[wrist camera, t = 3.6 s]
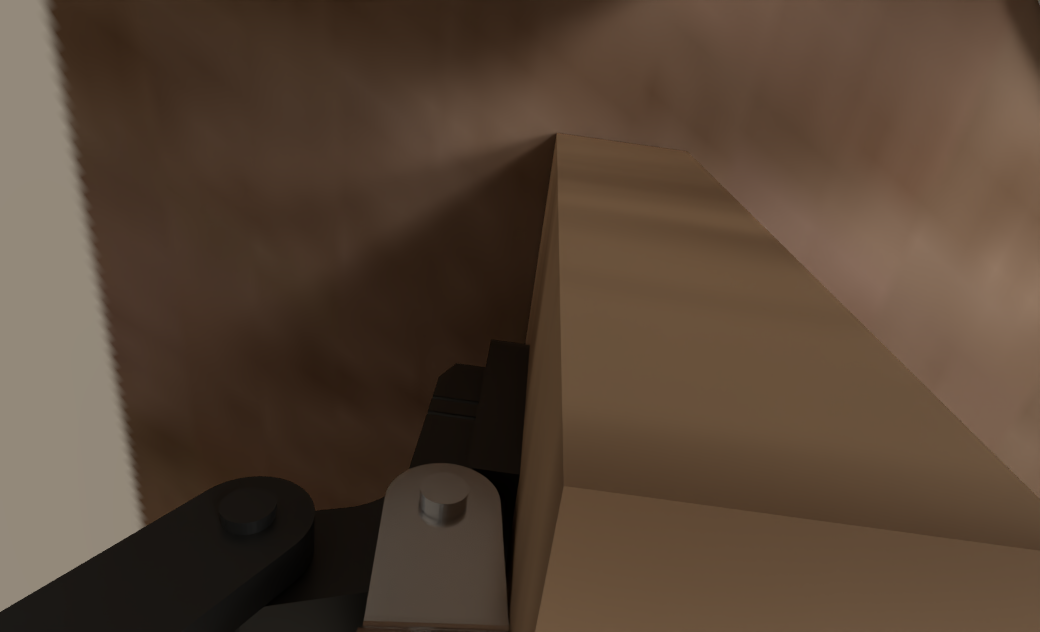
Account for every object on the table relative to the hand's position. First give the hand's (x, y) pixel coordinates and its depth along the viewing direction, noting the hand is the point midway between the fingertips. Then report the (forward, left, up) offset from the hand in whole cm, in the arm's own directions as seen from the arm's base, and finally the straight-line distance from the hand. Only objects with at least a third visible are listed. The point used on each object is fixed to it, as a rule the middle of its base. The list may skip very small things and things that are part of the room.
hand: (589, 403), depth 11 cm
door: (0, 0, -3) cm, 3 cm away
